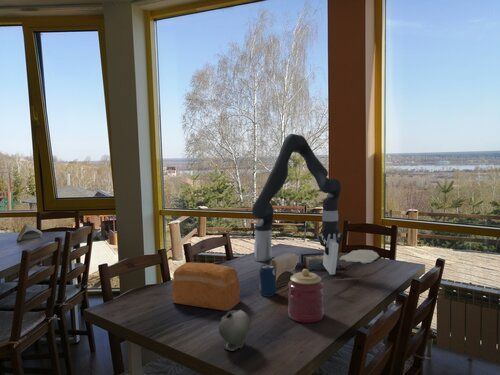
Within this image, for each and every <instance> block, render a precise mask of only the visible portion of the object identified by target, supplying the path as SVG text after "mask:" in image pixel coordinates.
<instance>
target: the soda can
mask: <svg viewBox="0 0 500 375" xmlns="http://www.w3.org/2000/svg"><path fill="white" fill-rule="evenodd" d="M258 271H259V274H258V275H259V282H258V283H259V293H260V294H261V296H264V297H272V296H275V294H276V292H277V289H276V288H277V283H276V281H277V280H276V278H277V276H276V268H275V266H274V265H273V264H263V265H260V268H259V270H258Z"/></svg>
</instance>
